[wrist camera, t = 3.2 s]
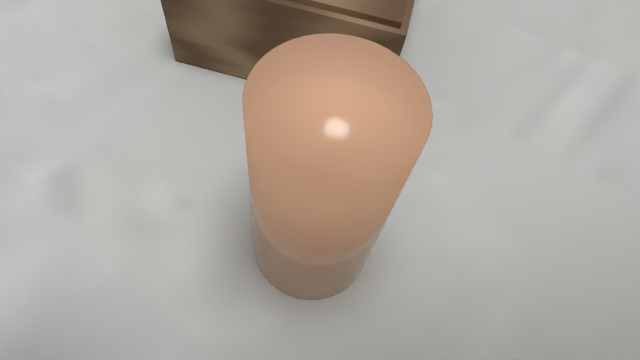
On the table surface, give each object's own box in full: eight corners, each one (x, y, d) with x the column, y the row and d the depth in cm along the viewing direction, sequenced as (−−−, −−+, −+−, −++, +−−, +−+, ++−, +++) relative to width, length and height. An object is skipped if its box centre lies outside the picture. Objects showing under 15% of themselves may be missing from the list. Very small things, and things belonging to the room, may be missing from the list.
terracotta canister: (374, 211, 26) (443, 58, 16) (352, 313, 23) (418, 207, 13) (274, 183, 26) (275, 16, 16) (239, 281, 23) (213, 152, 13)
